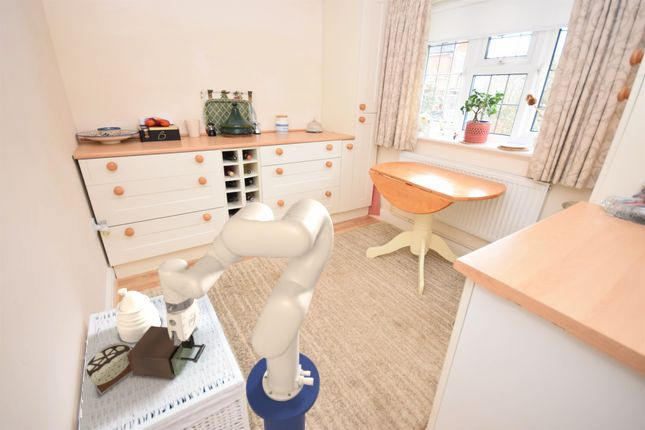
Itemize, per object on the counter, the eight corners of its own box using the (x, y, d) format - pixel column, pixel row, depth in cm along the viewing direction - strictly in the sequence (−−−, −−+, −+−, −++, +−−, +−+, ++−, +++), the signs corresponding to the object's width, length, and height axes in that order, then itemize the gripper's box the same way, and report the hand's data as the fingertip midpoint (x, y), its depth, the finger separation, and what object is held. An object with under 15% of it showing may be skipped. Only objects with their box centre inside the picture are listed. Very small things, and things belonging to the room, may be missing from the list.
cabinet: (191, 347, 99) (187, 329, 96) (172, 379, 89) (167, 359, 85) (156, 344, 100) (150, 325, 97) (133, 375, 89) (126, 355, 86)
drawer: (210, 349, 98) (207, 334, 95) (195, 377, 88) (192, 362, 86) (162, 344, 99) (158, 329, 96) (142, 372, 90) (137, 356, 87)
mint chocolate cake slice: (128, 357, 95) (120, 335, 91) (139, 366, 92) (131, 343, 88) (84, 387, 85) (74, 364, 81) (95, 399, 82) (84, 374, 78)
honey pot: (118, 347, 98) (103, 306, 91) (121, 322, 109) (108, 283, 101) (161, 334, 104) (150, 294, 97) (160, 311, 114) (150, 273, 107)
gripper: (178, 320, 76) (188, 368, 84) (204, 284, 90) (210, 329, 97) (150, 317, 77) (163, 366, 84) (180, 282, 90) (189, 327, 98)
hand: (188, 346), depth 91 cm, fingers closed
